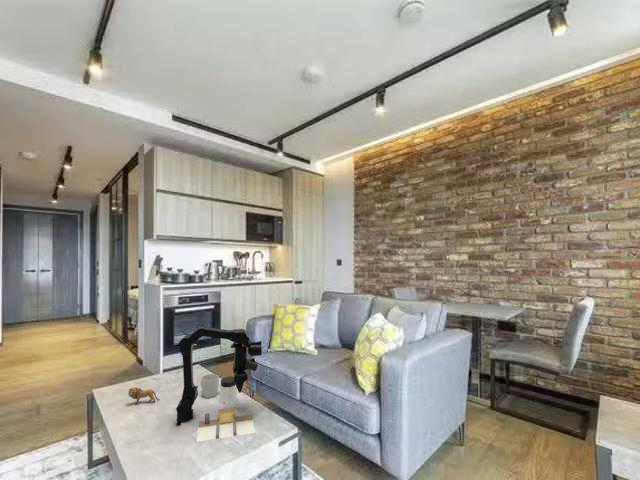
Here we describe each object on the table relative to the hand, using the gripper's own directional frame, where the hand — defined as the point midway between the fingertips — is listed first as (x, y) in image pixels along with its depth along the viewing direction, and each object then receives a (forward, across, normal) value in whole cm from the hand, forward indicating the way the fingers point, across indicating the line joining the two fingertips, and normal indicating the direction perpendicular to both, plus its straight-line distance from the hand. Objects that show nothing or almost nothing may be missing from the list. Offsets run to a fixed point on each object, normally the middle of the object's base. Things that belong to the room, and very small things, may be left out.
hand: (239, 388), depth 154 cm
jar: (+14, +16, +4) cm, 22 cm away
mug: (+14, +29, +15) cm, 36 cm away
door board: (+13, -10, +6) cm, 18 cm away
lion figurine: (+15, +28, +48) cm, 57 cm away
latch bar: (+12, -5, +6) cm, 14 cm away
